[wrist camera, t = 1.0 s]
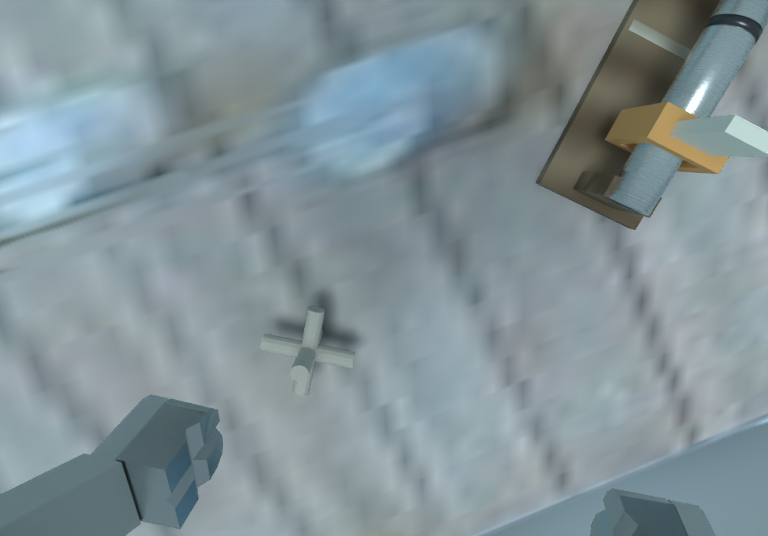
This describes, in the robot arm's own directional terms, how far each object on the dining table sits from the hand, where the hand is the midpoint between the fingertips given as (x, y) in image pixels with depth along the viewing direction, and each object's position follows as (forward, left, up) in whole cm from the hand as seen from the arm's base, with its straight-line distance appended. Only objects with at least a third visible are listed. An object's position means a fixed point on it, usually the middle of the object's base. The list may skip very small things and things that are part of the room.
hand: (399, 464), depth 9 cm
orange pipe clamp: (-3, +26, -36) cm, 44 cm away
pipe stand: (-7, +29, -41) cm, 50 cm away
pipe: (-7, +29, -35) cm, 46 cm away
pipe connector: (+13, -11, -41) cm, 44 cm away
